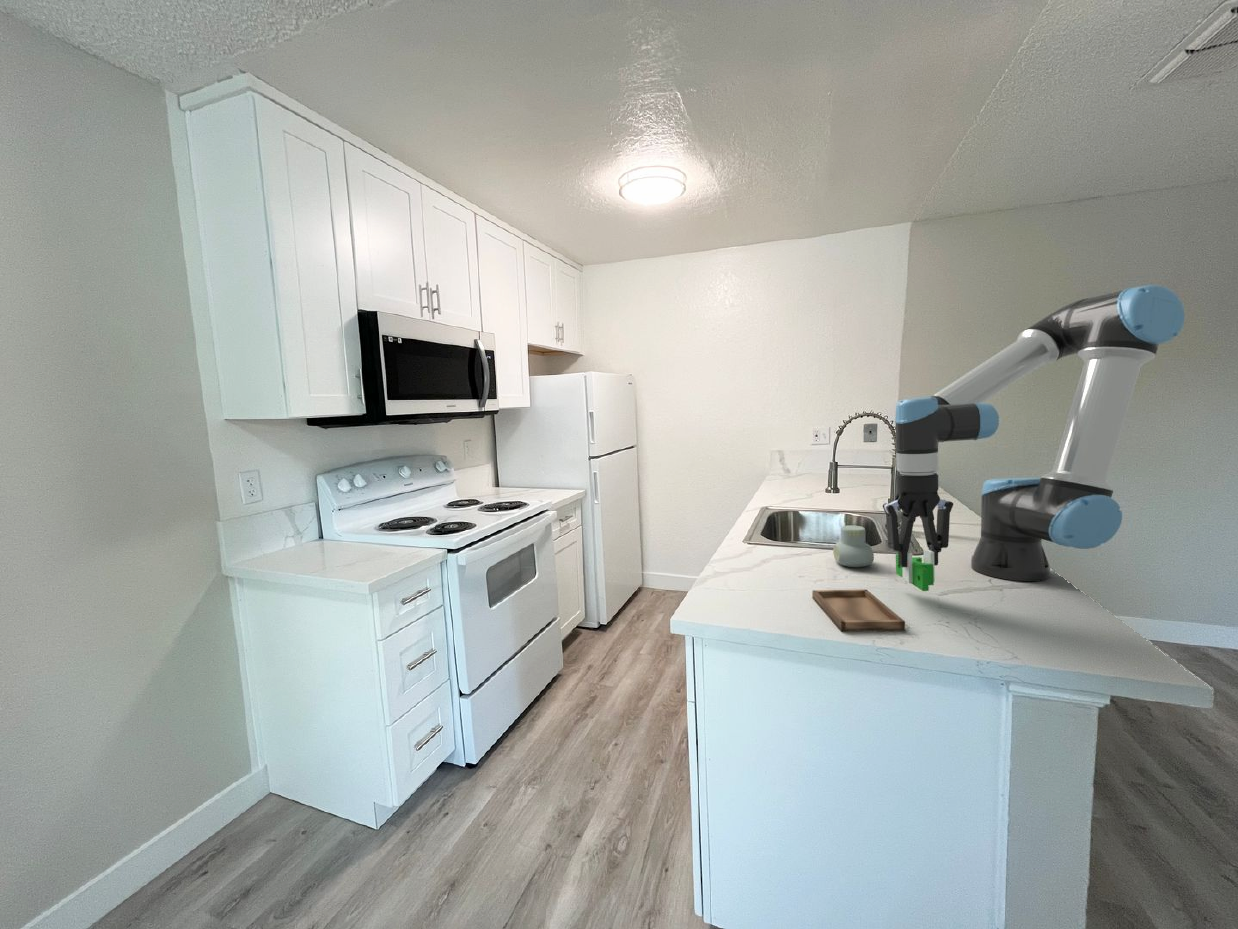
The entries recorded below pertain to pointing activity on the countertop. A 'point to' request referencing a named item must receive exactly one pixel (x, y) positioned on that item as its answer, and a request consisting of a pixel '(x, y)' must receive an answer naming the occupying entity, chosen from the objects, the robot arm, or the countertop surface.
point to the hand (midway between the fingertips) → (918, 580)
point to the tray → (857, 611)
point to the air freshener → (853, 548)
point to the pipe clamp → (919, 573)
